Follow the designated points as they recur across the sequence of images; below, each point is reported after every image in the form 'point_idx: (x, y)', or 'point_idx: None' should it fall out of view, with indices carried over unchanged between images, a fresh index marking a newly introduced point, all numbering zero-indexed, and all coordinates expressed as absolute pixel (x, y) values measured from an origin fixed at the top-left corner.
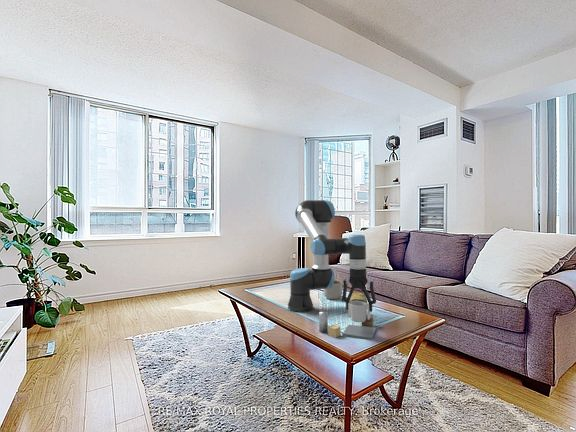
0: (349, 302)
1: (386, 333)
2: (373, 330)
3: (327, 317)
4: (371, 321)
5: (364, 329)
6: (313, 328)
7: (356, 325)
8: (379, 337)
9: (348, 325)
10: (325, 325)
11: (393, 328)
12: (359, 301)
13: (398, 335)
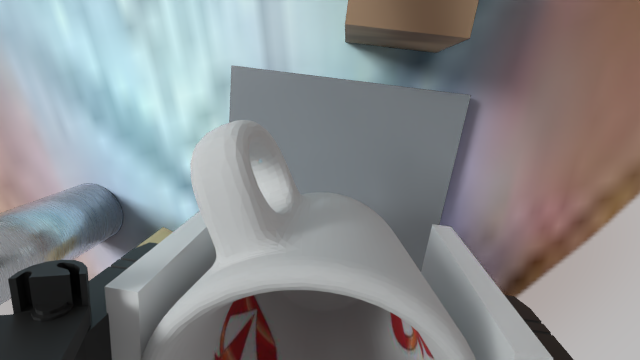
0: (119, 326)
1: (537, 159)
2: (442, 169)
3: (28, 262)
4: (448, 44)
5: (371, 160)
6: (11, 169)
7: (301, 75)
8: (470, 245)
9: (235, 92)
10: (76, 257)
11: (634, 16)
12: (318, 288)
13: (625, 182)
